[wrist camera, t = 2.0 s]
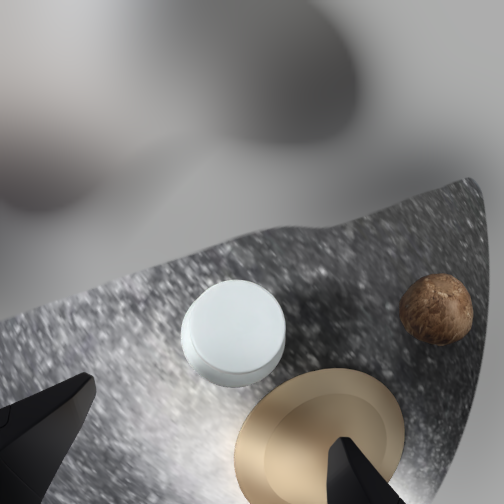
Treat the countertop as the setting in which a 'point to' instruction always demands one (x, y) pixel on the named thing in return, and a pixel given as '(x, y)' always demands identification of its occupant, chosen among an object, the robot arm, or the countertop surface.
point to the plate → (315, 434)
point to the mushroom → (437, 309)
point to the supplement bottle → (234, 334)
